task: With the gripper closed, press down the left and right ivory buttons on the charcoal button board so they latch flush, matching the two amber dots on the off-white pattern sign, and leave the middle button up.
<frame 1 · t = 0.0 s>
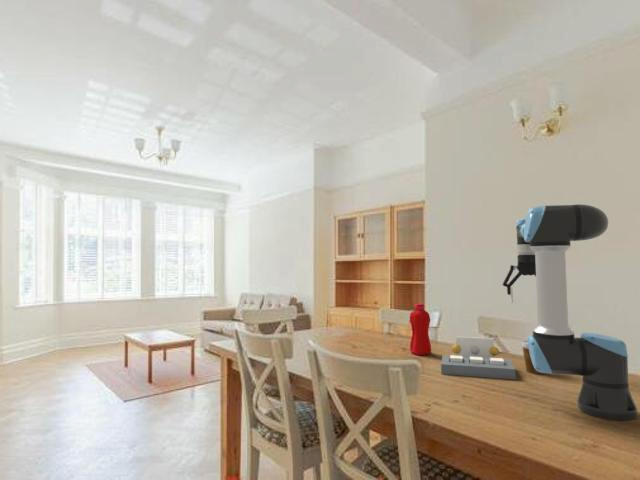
hand: (528, 302, 177), 28 cm above the table, tool pointing down, fingers open, 13 cm apart
button left: (456, 360, 173), point 4 cm above the table, slide at 0.0 cm
pattern sign: (475, 363, 184), on the table
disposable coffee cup: (534, 372, 169), on the table
button right: (496, 363, 168), point 4 cm above the table, slide at 0.0 cm
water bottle: (419, 354, 203), on the table
button board: (476, 371, 171), on the table
button middle: (476, 361, 171), point 4 cm above the table, slide at 0.0 cm
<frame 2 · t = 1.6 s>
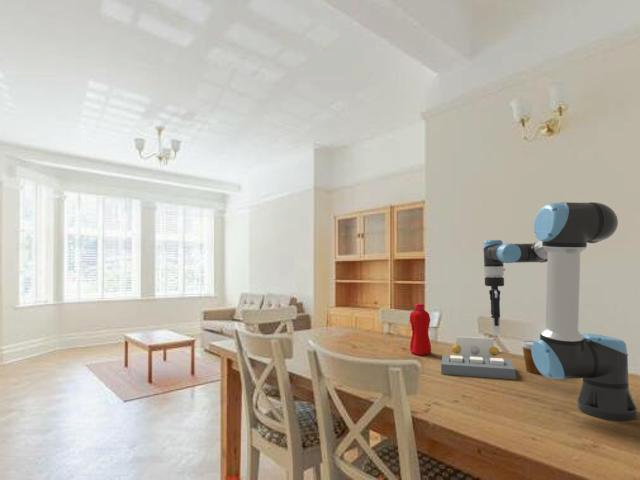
hand: (495, 332, 169), 17 cm above the table, tool pointing down, fingers open, 5 cm apart
nothing on the table moved.
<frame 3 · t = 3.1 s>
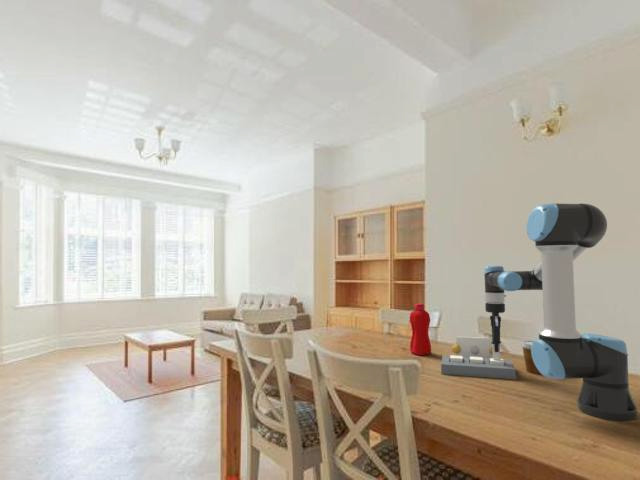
hand: (496, 359, 168), 6 cm above the table, tool pointing down, fingers closed
button right: (496, 363, 168), point 4 cm above the table, slide at 0.2 cm, touching gripper
everything else where it was.
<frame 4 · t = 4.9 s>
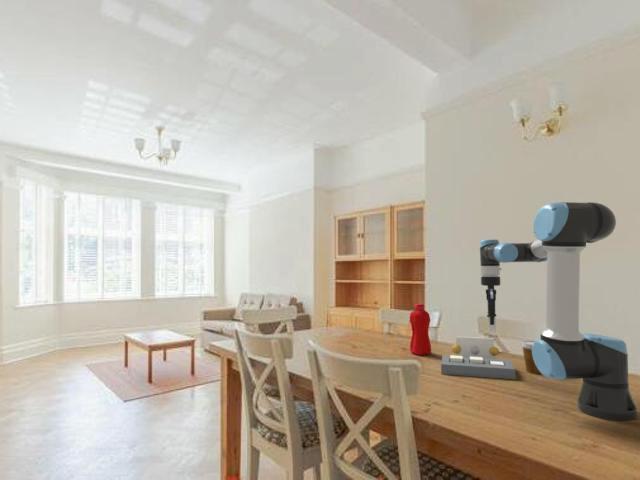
hand: (492, 332, 169), 17 cm above the table, tool pointing down, fingers closed
button right: (497, 366, 168), point 3 cm above the table, slide at 1.4 cm
everything else where it was.
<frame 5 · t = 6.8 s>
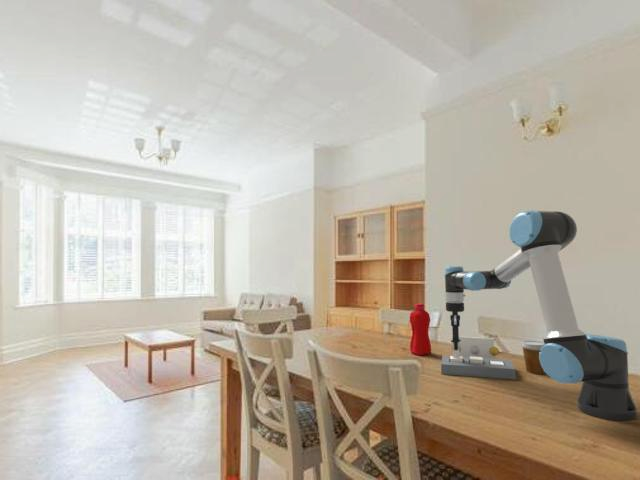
hand: (456, 357, 173), 5 cm above the table, tool pointing down, fingers closed
button left: (456, 361, 173), point 4 cm above the table, slide at 0.3 cm, touching gripper
everything else where it was.
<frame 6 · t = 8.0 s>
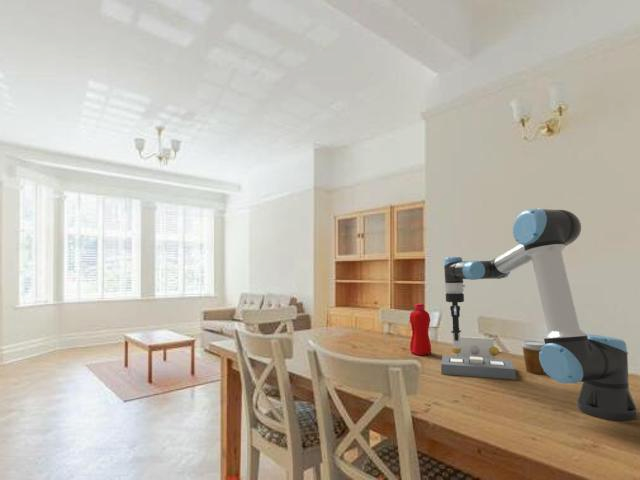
hand: (456, 347, 173), 9 cm above the table, tool pointing down, fingers closed
button left: (456, 363, 173), point 3 cm above the table, slide at 1.4 cm
everything else where it was.
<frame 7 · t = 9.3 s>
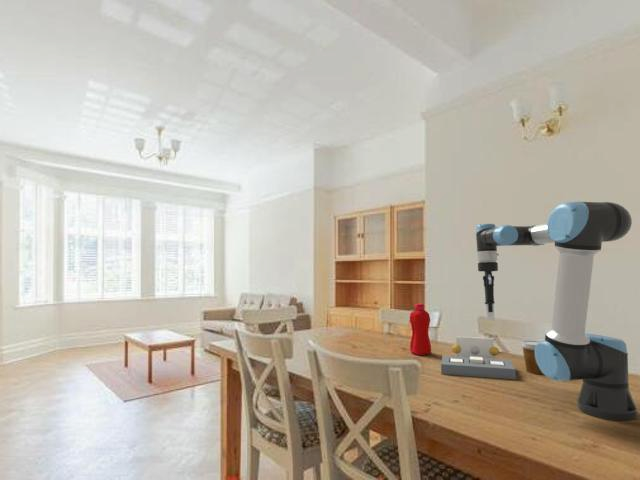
hand: (490, 320, 163), 23 cm above the table, tool pointing down, fingers closed
nothing on the table moved.
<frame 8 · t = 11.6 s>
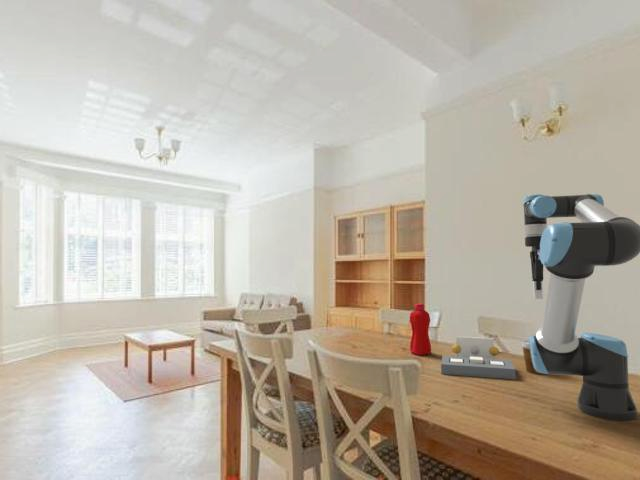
hand: (538, 298, 152), 32 cm above the table, tool pointing down, fingers closed
nothing on the table moved.
at the end: button left slide at 1.4 cm; button right slide at 1.4 cm; button middle slide at 0.0 cm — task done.
